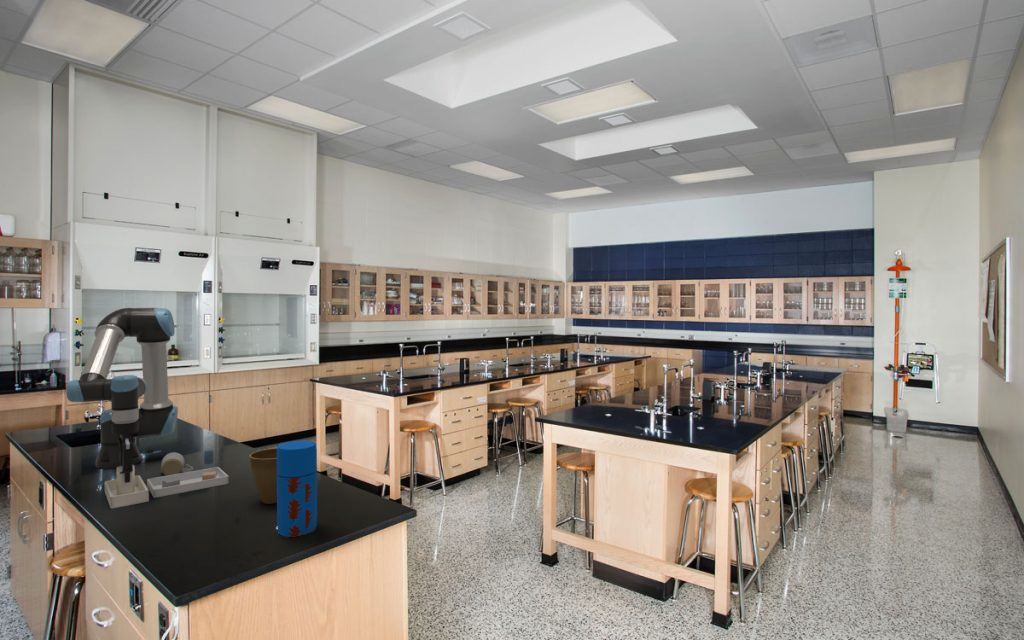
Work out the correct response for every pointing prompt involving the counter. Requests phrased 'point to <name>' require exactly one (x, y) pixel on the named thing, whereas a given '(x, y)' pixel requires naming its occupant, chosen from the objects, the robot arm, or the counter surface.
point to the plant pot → (265, 474)
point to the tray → (186, 482)
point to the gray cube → (170, 482)
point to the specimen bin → (126, 499)
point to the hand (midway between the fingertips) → (126, 489)
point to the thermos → (296, 487)
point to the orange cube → (208, 475)
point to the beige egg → (119, 481)
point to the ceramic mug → (174, 464)
